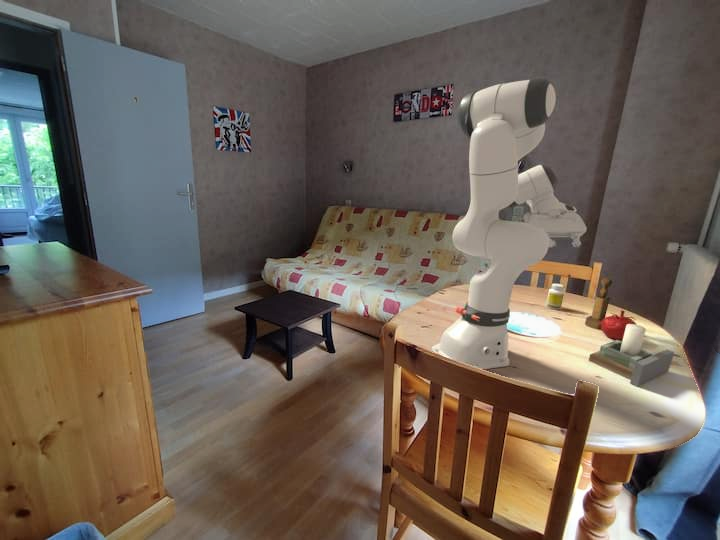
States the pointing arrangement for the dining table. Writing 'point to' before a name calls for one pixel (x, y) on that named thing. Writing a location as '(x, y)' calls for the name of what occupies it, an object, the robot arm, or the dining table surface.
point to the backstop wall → (651, 367)
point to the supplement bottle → (555, 297)
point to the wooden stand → (599, 306)
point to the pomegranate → (616, 325)
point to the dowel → (632, 339)
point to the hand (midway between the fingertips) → (565, 246)
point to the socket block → (617, 359)
